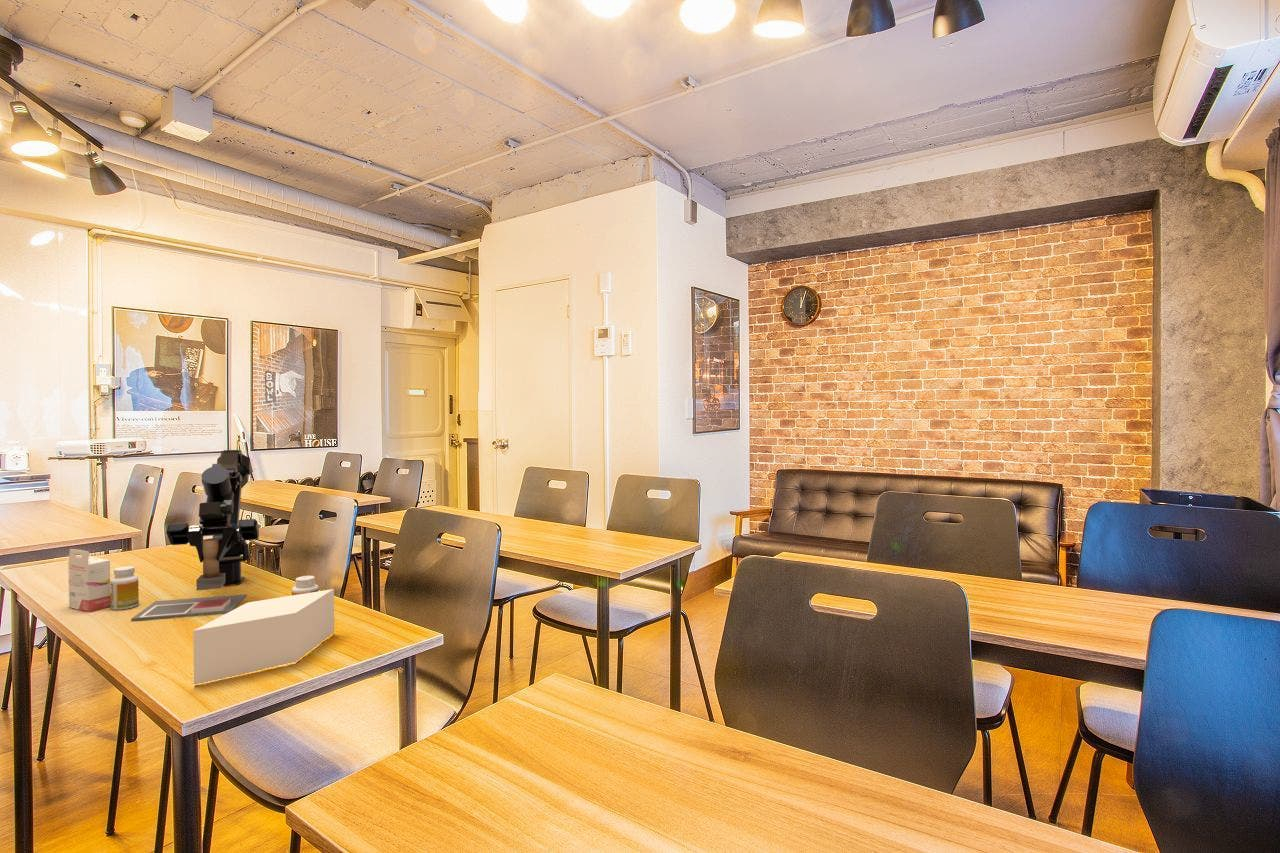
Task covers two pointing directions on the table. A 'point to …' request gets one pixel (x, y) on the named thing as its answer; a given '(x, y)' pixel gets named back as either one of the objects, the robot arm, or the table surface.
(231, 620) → the cream slanted prism
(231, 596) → the stamp board
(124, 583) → the supplement bottle
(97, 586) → the ink cartridge box
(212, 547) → the stamp
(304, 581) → the supplement bottle
